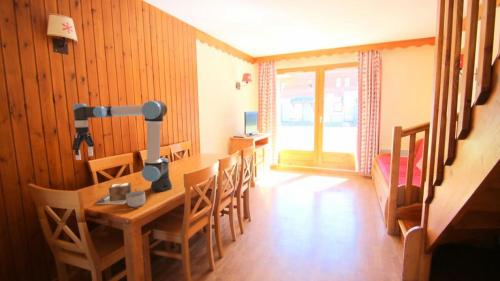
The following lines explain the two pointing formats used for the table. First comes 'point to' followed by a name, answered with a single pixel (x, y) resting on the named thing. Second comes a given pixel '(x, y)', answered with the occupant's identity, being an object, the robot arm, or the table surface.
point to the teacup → (135, 198)
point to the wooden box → (119, 191)
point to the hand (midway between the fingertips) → (84, 157)
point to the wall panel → (107, 201)
